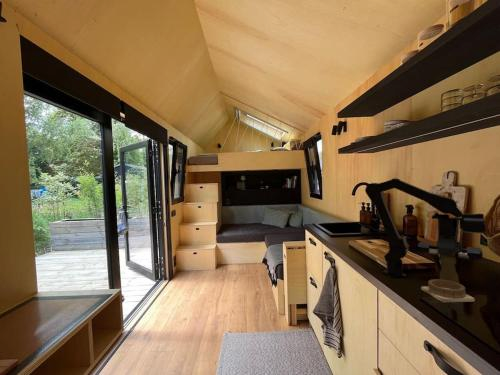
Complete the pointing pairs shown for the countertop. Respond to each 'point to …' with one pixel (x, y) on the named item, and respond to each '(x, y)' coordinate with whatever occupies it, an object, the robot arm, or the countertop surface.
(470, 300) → the shaker holder
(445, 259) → the cork
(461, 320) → the countertop surface
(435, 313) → the countertop surface
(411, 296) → the countertop surface
